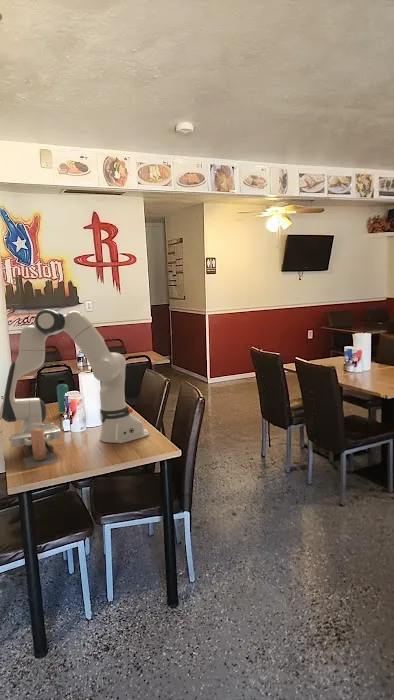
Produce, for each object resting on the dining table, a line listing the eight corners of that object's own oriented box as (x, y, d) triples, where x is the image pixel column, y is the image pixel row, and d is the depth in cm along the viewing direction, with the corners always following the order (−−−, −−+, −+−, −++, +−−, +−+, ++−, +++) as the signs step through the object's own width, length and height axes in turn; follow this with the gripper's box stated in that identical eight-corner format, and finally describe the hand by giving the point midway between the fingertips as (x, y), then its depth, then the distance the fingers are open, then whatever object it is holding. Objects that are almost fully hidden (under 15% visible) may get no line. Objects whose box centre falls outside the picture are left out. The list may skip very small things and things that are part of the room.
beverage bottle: (67, 415, 257) (64, 380, 254) (56, 415, 258) (53, 380, 255) (73, 412, 263) (69, 377, 260) (62, 412, 265) (59, 377, 262)
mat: (52, 453, 197) (52, 452, 197) (57, 462, 187) (57, 461, 187) (23, 459, 192) (22, 458, 192) (26, 469, 181) (26, 467, 181)
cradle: (49, 445, 208) (49, 440, 207) (53, 453, 198) (53, 447, 198) (23, 450, 203) (23, 445, 203) (26, 458, 193) (26, 452, 193)
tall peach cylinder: (45, 454, 193) (42, 427, 191) (48, 461, 185) (45, 432, 184) (32, 457, 190) (29, 429, 189) (35, 463, 183) (32, 434, 182)
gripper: (7, 430, 195) (10, 439, 182) (57, 421, 204) (63, 430, 191) (9, 444, 196) (12, 454, 183) (58, 435, 205) (64, 444, 192)
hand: (38, 442), depth 187 cm, fingers closed on tall peach cylinder, 5 cm apart
